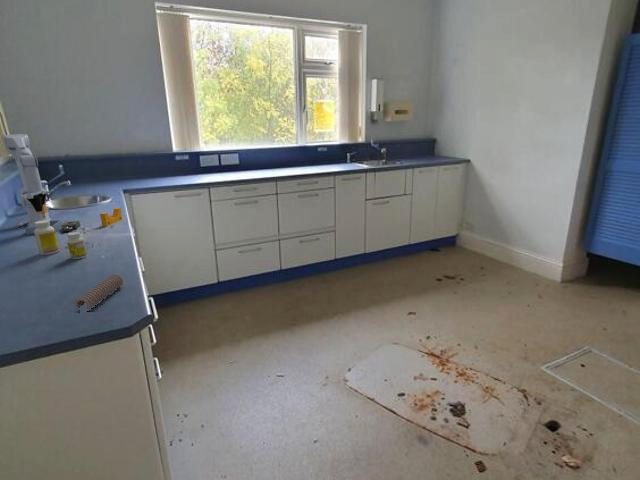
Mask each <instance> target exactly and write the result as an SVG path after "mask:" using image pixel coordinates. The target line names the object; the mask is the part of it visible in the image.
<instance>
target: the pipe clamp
mask: <svg viewBox="0 0 640 480" xmlns="http://www.w3.org/2000/svg"><path fill="white" fill-rule="evenodd" d="M122 213H123V212H122V208H121V207H113V214H110V215H109V214H108V212H100V213H99V217H100V220H101V221H100V222H101V225H102V227H109V226H112V225H114V224H116V223H118V221H119V222H121V221H123V214H122ZM113 223H114V224H113Z"/></svg>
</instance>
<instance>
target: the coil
mask: <svg viewBox="0 0 640 480" xmlns="http://www.w3.org/2000/svg"><path fill="white" fill-rule="evenodd" d="M123 284H124V280H123V278H122V276H120V275H119V274H117V273H112V274H111V275H110V276H108V277H106V278H105V279H104V280H102V281H101V282H99V283H98V284H96V285H95V286H93V287H92V288H90V289H89V290H88V291H86V292H85V293H83V294H82V295H81V296H79V297H78V298H77V299H75V301H74V307H75V308H76V309H77V308H80V306H82V305H84V303H86V304H87V309H90V308H91V307H93V306H94V305H95V304H97V303H98V302H99V301H101V300H102V299H104V298H105V297H107V296H108V295H109V294H110V293H112V292H113V291H115V289H117V288H119V287H120V286H121V285H122V286H123ZM122 286H121V287H122ZM121 287H120V288H121ZM120 288H119V289H120ZM117 290H118V289H117ZM115 292H116V291H115ZM113 293H114V292H113ZM113 293H112V294H113ZM108 297H109V296H108ZM108 297H107V298H108ZM104 300H105V299H104Z"/></svg>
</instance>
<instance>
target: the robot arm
mask: <svg viewBox="0 0 640 480" xmlns="http://www.w3.org/2000/svg"><path fill="white" fill-rule="evenodd" d="M1 138H2V139H1V140H2V142H3V146H4V149H5V152H7V154H8V155H10V156H12V157H13V158H14V161H15V163H16V165H17V170H18V172H19V175H20V179H21V182H22V186H23V187H22V188H21V189H20V190H19V191H18V195H19V200H20V203H21V206H23V207H25V208H26V212H27V215H28V219H29V223H27V224H26V225H27V226H30V225H31V224H33V223H34V222H37V221H42V220H49V221H53V219H52V218H50V213H49V211H48V209H47V211H48V212H47V213H45V217H46V218H42V215H41V214H38V213H37V212H41V211H42V205H41V204H46V203H47V195H48V194H47V193H46V192H47V190H45V188H43V184H42V181H41V176H40V173H39V172H40V171H39V168H38V167H39V162H38V158H37V156H36V154H35V153H32V151H31V147H30V146H31V143H30V139H29V135H28V134H26V133H19V134H18V133H16V134H14V133H13V134H2V136H1Z"/></svg>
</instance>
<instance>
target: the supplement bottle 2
mask: <svg viewBox="0 0 640 480" xmlns="http://www.w3.org/2000/svg"><path fill="white" fill-rule="evenodd" d="M67 238H68V239H67V240H66V241H67V242H66V243H67V247H68V251H69V255H70V258H71V259H72V260H80V258H81V259H85V258H86V257H88V252H87V248H86V244H85V240H84V238H83V237H82V236H81V233H80V231H72V232H68V234H67Z"/></svg>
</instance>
